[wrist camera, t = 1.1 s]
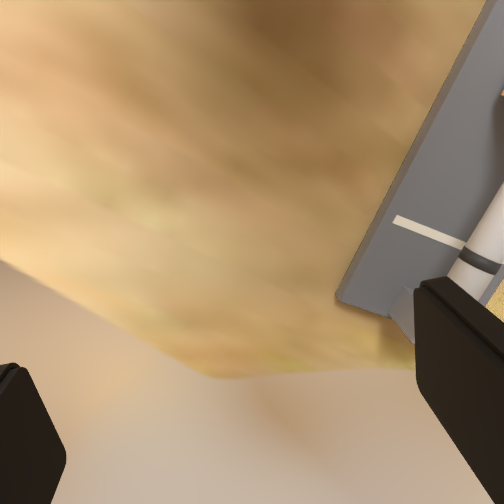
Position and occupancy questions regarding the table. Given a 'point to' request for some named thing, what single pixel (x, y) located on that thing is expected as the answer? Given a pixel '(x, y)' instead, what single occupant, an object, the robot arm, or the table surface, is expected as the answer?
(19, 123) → the table surface
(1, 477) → the robot arm
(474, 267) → the pipe rig
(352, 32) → the table surface
